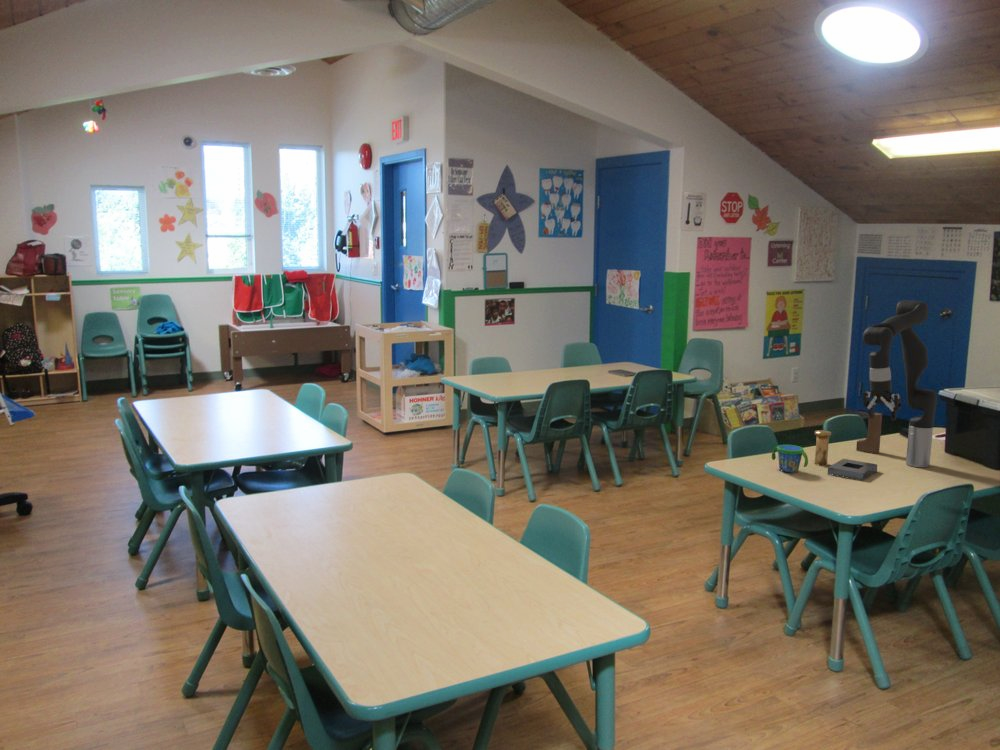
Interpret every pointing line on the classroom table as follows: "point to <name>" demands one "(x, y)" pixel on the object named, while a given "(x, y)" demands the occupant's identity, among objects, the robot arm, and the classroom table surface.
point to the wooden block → (872, 435)
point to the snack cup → (789, 457)
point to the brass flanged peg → (822, 446)
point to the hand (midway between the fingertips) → (882, 418)
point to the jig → (852, 469)
